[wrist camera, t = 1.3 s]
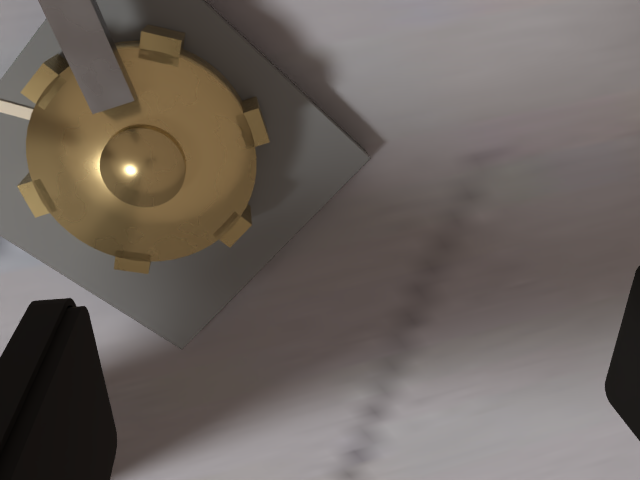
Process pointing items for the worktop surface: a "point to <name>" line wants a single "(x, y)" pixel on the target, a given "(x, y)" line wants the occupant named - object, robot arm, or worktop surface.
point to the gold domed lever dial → (137, 142)
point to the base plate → (266, 202)
